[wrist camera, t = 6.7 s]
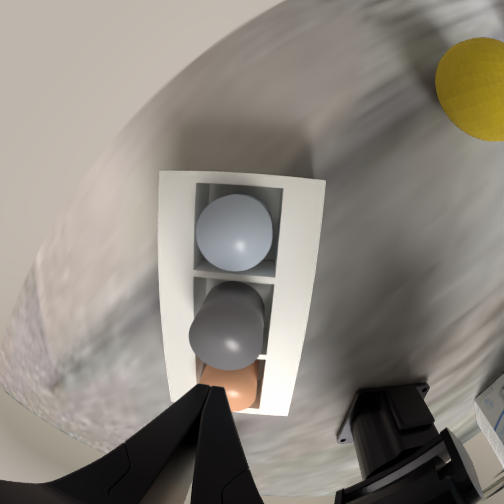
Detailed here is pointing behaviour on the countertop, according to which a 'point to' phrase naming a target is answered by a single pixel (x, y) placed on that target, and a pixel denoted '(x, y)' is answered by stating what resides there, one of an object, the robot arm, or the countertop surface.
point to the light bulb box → (492, 416)
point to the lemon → (474, 87)
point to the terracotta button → (234, 384)
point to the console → (239, 274)
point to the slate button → (235, 232)
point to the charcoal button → (229, 326)
